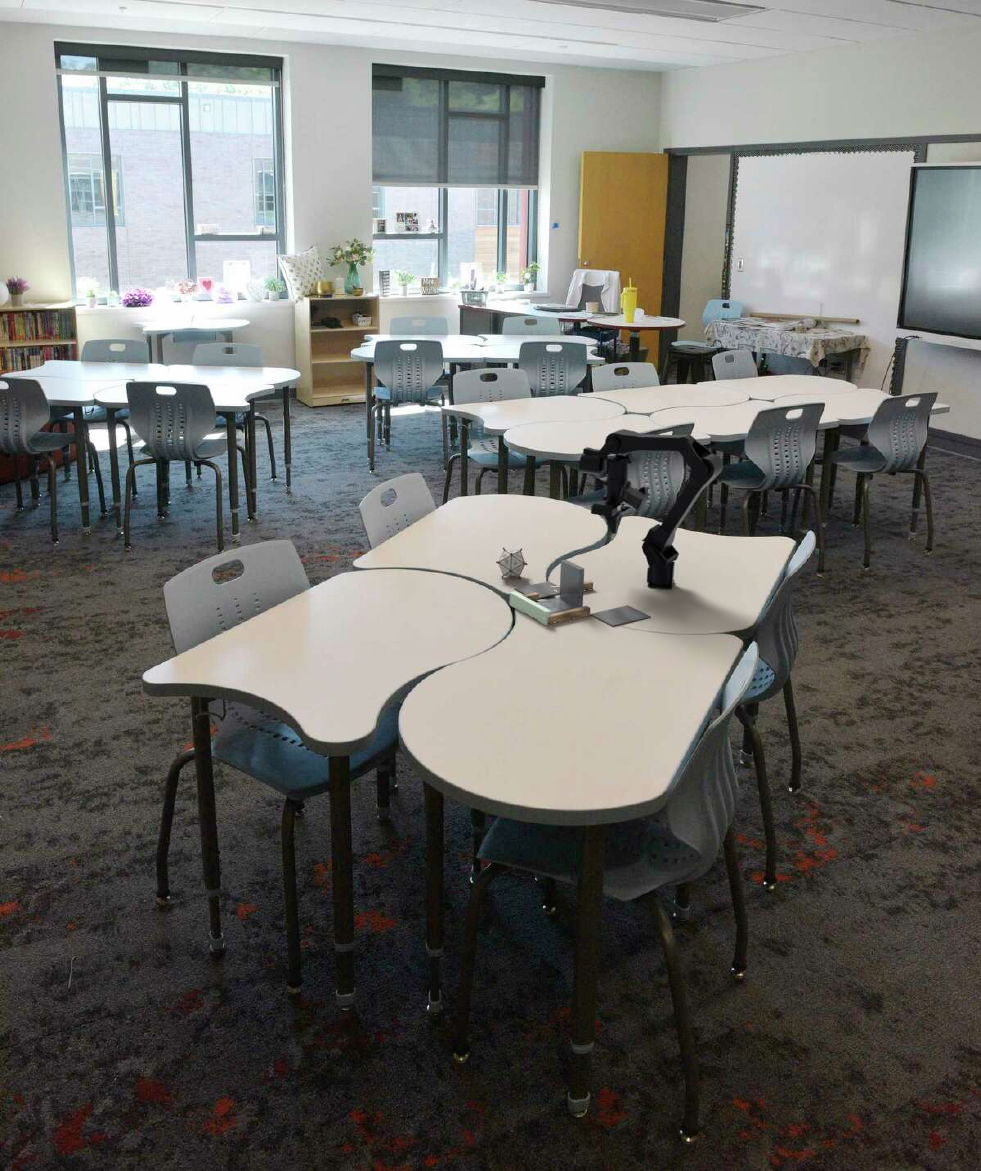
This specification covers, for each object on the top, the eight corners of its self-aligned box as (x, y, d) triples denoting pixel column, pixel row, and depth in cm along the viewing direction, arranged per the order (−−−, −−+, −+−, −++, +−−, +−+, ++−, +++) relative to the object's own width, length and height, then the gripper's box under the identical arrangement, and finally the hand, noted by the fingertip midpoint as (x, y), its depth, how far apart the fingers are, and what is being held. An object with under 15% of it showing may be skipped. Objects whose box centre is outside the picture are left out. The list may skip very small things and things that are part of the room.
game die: (516, 587, 298) (536, 557, 298) (514, 587, 289) (535, 556, 289) (489, 569, 299) (509, 539, 298) (486, 568, 290) (507, 537, 290)
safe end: (514, 604, 276) (514, 591, 275) (550, 624, 263) (551, 610, 262) (509, 605, 275) (509, 592, 274) (545, 625, 262) (546, 612, 261)
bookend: (564, 599, 279) (565, 559, 275) (582, 609, 273) (584, 568, 269) (525, 608, 273) (526, 567, 269) (543, 618, 267) (544, 576, 263)
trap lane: (569, 577, 295) (569, 570, 294) (650, 617, 268) (651, 609, 267) (492, 594, 282) (492, 586, 282) (569, 637, 255) (569, 629, 255)
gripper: (630, 489, 277) (626, 547, 282) (659, 474, 292) (655, 529, 297) (591, 483, 282) (588, 540, 288) (621, 468, 297) (618, 523, 303)
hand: (614, 533), depth 294 cm, fingers closed
